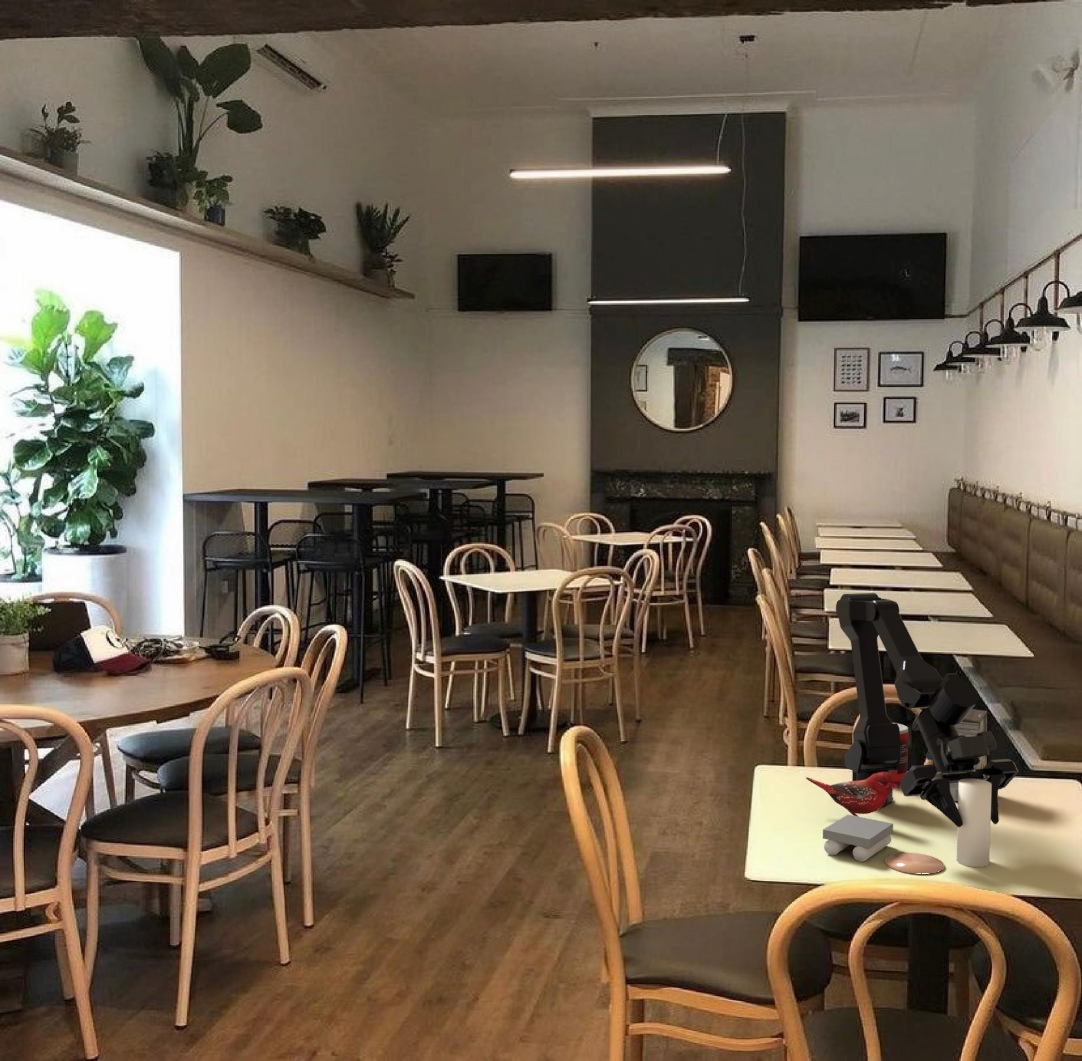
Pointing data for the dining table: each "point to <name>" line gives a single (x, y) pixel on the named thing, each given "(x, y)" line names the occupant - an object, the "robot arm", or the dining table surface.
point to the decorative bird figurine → (860, 793)
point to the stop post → (974, 822)
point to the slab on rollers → (857, 836)
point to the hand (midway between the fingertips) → (978, 824)
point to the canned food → (903, 764)
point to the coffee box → (969, 727)
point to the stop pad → (914, 863)
